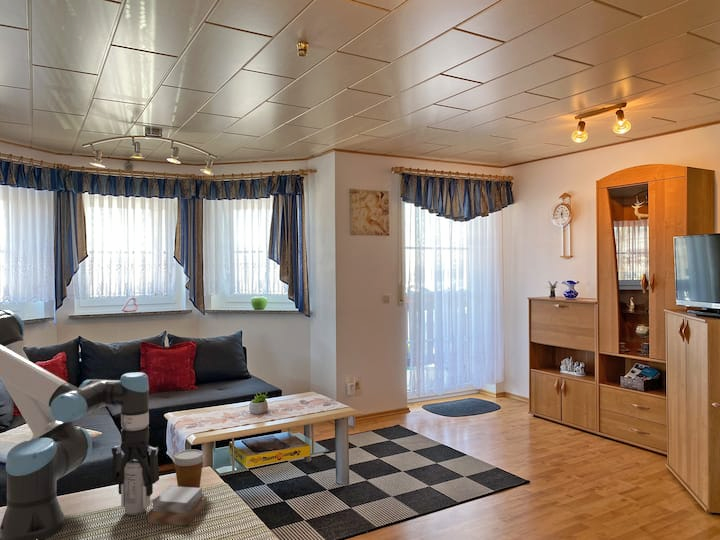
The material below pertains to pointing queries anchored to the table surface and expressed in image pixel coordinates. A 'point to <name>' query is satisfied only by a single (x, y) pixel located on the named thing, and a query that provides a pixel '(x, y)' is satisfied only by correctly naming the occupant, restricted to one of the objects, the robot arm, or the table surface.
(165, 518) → the plinth
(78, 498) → the table surface
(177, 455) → the disposable coffee cup
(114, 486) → the table surface
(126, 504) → the energy drink can
